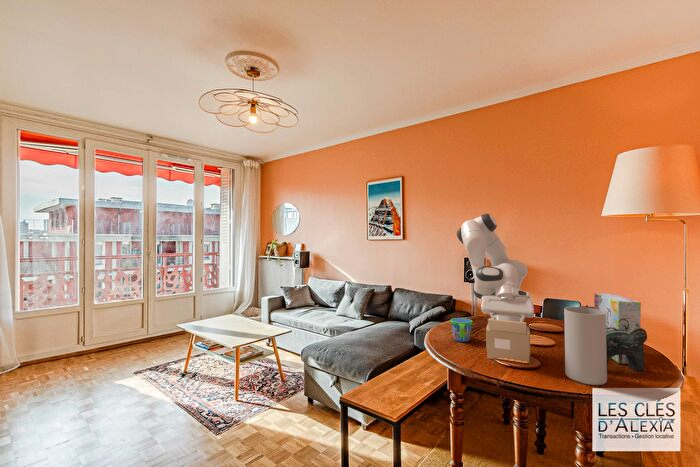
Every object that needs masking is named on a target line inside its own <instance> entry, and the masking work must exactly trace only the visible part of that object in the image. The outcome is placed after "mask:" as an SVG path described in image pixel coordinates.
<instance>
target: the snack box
mask: <svg viewBox="0 0 700 467" xmlns="http://www.w3.org/2000/svg"><path fill="white" fill-rule="evenodd" d="M593 295H594V299H593V300H594V307H595V309H598V310H602V311H604V312H606V328H609V327H611V328H615V329H618V330H623V329H624V328H625V327H624V326H623V325H627V326H628V323H627V321H628V322H629V326H635V325H636V323H638V325H639V326H640V328H642V326H641V322H642V321H641V318H642V316H641V315H642V313H641V312H642V311H641V306H642V302H640V301H637V300H634V299H631V298H627V297H624V296H621V295H618V294H617V295H616V294H614V293H600V292H599V293H598V292H597V293H596V292H594V294H593ZM619 319H626V320H627V321H626V320H621V321H620V322H618V321H619ZM611 328H610V329H606V331H609V330H614V329H611ZM611 360H613V361H615V362H616V363H618V364H620V365H621V364H623V365H629V362H628V359H627V357H626V356H625V355H615V356H613V357H612V358H611Z"/></svg>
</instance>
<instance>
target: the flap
mask: <svg viewBox="0 0 700 467" xmlns="http://www.w3.org/2000/svg"><path fill="white" fill-rule="evenodd" d="M487 322H488V323H487V325H488V324H489V330H495V331H505V332H514V333H523V334H526V326H527V322H516V321H505V320H495V319H491V318H487Z"/></svg>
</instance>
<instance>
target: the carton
mask: <svg viewBox="0 0 700 467" xmlns="http://www.w3.org/2000/svg"><path fill="white" fill-rule="evenodd" d="M485 337H486V338H485V345H486V347H485V349H486V350H485V351H486V354H487V355H486V358H487V359H490V360H495V359H494V358H507V359H514V360H521V361H527V362H529V363H530V357H531V331H530V326H528V325H526V334H523V333H514V332H505V331H495V330H489V324H488V323H487V325H486V329H485Z"/></svg>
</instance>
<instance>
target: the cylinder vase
mask: <svg viewBox="0 0 700 467" xmlns="http://www.w3.org/2000/svg"><path fill="white" fill-rule="evenodd" d="M563 311H564V312H563V314H564V315H563V316H564V321H563V322H564V370H565V372H564V373H565V375H566V377H567V378H569V379H570V380H572V381H574V382H577V383H580V384H583V385H591V386H601V385H605V384H606V383H607V382H608V366H607V353H606V312H604V311H602V310H598V309H592V308H584V307H579V306H567V307H564V310H563Z"/></svg>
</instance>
